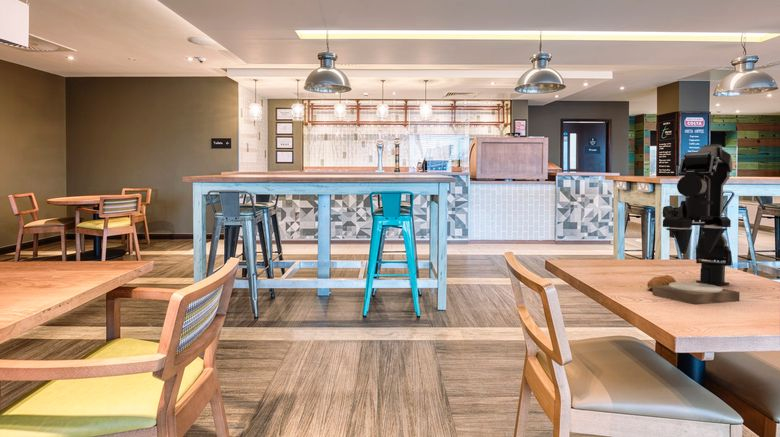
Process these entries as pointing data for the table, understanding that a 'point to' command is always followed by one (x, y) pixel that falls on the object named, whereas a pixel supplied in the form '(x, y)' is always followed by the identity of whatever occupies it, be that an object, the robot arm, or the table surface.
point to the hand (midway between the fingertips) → (695, 253)
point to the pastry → (660, 281)
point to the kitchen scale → (695, 293)
